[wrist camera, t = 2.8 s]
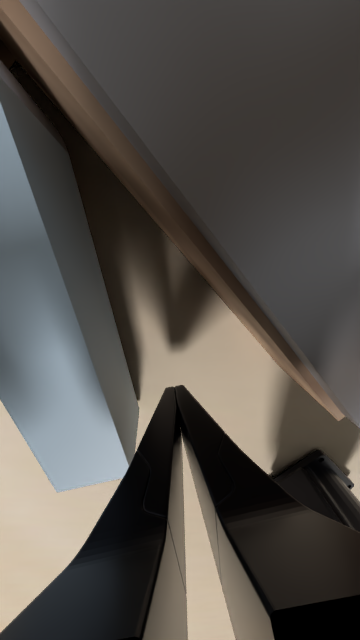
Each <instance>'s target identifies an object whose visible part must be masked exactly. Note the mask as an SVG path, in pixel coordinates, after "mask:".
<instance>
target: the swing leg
mask: <svg viewBox="0 0 360 640" xmlns="http://www.w3.org/2000/svg"><path fill="white" fill-rule="evenodd" d="M0 400H1V401H2V403H3V405H4V406H5V408H6V409H7V411H8V413H9V414H10V416H11V418H12V419H13V421H14V423H15V424H16V426H17V428H18V429H19V431H20V433H21V434H22V436H23V437H24V439H25V441H26V442H27V444H28V446H29V447H30V449H31V451H32V452H33V454H34V456H35V457H36V459H37V460H38V462H39V464H40V465H41V467H42V469H43V470H44V472H45V474H46V475H47V477H48V479H49V480H50V482H51V484H52V485H53V487H54V488H55V490H56V492H62V491H66V490H71V489H75V488H80V487H84V486H89V485H93V484H98V483H102V482H107V481H111V480H116V479H121V478H123V477H124V475H125V473H126V471H127V469H128V467H129V465H130V463H131V461H132V459H133V457H134V455H135V446H136V436H137V426H138V417H139V406H138V402H137V399H136V395H135V392H134V388H133V384H132V381H131V377H130V374H129V370H128V366H127V363H126V359H125V356H124V352H123V348H122V345H121V341H120V338H119V334H118V330H117V327H116V323H115V319H114V316H113V312H112V309H111V305H110V301H109V298H108V294H107V291H106V287H105V283H104V280H103V276H102V273H101V269H100V265H99V262H98V258H97V254H96V251H95V247H94V244H93V240H92V236H91V233H90V229H89V226H88V222H87V218H86V215H85V211H84V208H83V204H82V200H81V197H80V193H79V190H78V186H77V182H76V179H75V175H74V171H73V168H72V164H71V161H70V157H69V153H68V150H67V147H66V145H65V143H64V141H63V139H62V137H61V135H60V134H59V132H58V131H57V129H56V128H55V127H54V125H53V124H52V123H51V122H50V120H49V119H48V118H47V117H46V115H45V114H44V113H43V112H42V111H41V109H40V108H39V107H38V106H37V104H36V103H35V102H34V101H33V99H32V98H31V97H30V96H29V95H28V93H27V92H26V91H25V90H24V88H23V87H22V86H21V85H20V83H19V82H18V81H17V80H16V78H15V77H14V76H13V75H12V74H11V72H10V71H9V70H8V69H7V67H6V66H5V65H4V64H3V62H2V61H1V60H0Z"/></svg>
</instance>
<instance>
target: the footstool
mask: <svg viewBox="0 0 360 640" xmlns="http://www.w3.org/2000/svg"><path fill="white" fill-rule="evenodd" d="M0 60H1V61H2V62H3V64H4V65H5V66H6V67H7V69H8V70H9V69H10V67H11V66H12V64H13V63H14V61H15V60H17V62H18V63H19V64H20V65H21V66H22V67H23V69H24V70H25V71H26V72H27V73H28V74H29V76H30V77H31V78H32V79H33V80H34V81H35V83H36V84H37V85H38V86H39V87H40V88H41V90H42V91H43V92H44V93H45V94H46V95H47V96H48V98H49V99H50V100H51V101H52V102H53V103H54V105H55V106H56V107H57V108H58V109H59V110H60V112H61V113H62V114H63V115H64V116H65V117H66V119H67V120H68V121H69V122H70V123H71V124H72V126H73V127H74V128H75V129H76V130H77V131H78V133H79V134H80V135H81V136H82V137H83V138H84V140H85V141H86V142H87V143H88V144H89V145H90V146H91V148H92V149H93V150H94V151H95V152H96V153H97V155H98V156H99V157H100V158H101V159H102V160H103V162H104V163H105V164H106V165H107V166H108V167H109V169H110V170H111V171H112V172H113V173H114V174H115V176H116V177H117V178H118V179H119V180H120V181H121V183H122V184H123V185H124V186H125V187H126V188H127V190H128V191H129V192H130V193H131V194H132V195H133V196H134V198H135V199H136V200H137V201H138V202H139V203H140V205H141V206H142V207H143V208H144V209H145V210H146V212H147V213H148V214H149V215H150V216H151V217H152V219H153V220H154V221H155V222H156V223H157V224H158V226H159V227H160V228H161V229H162V230H163V231H164V233H165V234H166V235H167V236H168V237H169V238H170V240H171V241H172V242H173V243H174V244H175V245H176V247H177V248H178V249H179V250H180V251H181V252H182V253H183V255H184V256H185V257H186V258H187V259H188V260H189V262H190V263H191V264H192V265H193V266H194V267H195V269H196V270H197V271H198V272H199V273H200V274H201V276H202V277H203V278H204V279H205V280H206V281H207V283H208V284H209V285H210V286H211V287H212V288H213V290H214V291H215V292H216V293H217V294H218V295H219V297H220V298H221V299H222V300H223V301H224V302H225V303H226V305H227V306H228V307H229V308H230V309H231V310H232V312H233V313H234V314H235V315H236V316H237V317H238V319H239V320H240V321H241V322H242V323H243V324H244V326H245V327H246V328H247V329H248V330H249V331H250V333H251V334H252V335H253V336H254V337H255V338H256V340H257V341H258V342H259V343H260V344H261V345H262V347H263V348H264V349H265V350H266V351H267V352H268V354H269V355H270V356H271V357H272V358H273V359H274V360H275V362H276V363H277V364H278V365H279V366H280V367H281V368H282V369H283V370H284V371H285V372H286V373H287V374H288V375H289V376H291V377H292V378H293V379H294V380H295V381H296V382H297V383H298V384H299V385H300V386H301V387H302V388H303V389H305V390H306V391H307V392H308V393H309V394H310V395H311V396H312V397H313V398H314V399H315V400H316V401H317V402H319V403H320V404H321V405H322V406H323V407H324V408H325V409H326V410H327V411H328V412H329V413H330V414H331V415H333V416H334V417H335V418H336V419H337V420H338V421H340V420H341V419H343V418H344V417H347V418H348V419H349V420H350V421H352V422H353V423H354V424H355V425H356V426H357V427H358V428H360V0H0Z"/></svg>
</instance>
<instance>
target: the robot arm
mask: <svg viewBox="0 0 360 640" xmlns="http://www.w3.org/2000/svg"><path fill="white" fill-rule="evenodd" d="M180 427H181V428H180ZM181 433H182V435H181ZM182 438H183V443H184V446H185V450H186V454H187V458H188V461H189V465H190V469H191V473H192V476H193V480H194V484H195V488H196V492H197V495H198V499H199V503H200V507H201V510H202V514H203V518H204V522H205V525H206V529H207V533H208V537H209V540H210V544H211V548H212V552H213V556H214V559H215V563H216V567H217V571H218V574H219V578H220V582H221V585H222V590H223V593H224V597H225V601H226V605H227V608H228V612H229V616H230V620H231V623H232V627H233V631H234V635H235V638H236V640H360V502H359V500H358V499H357V498H356V497H355V495H354V494H353V493H352V492H351V490H350V489H352V488H353V487H354V484H353V482H352V481H351V480H350V479H349V478H348V477H347V476H346V475H345V474H344V473H343V472H342V471H341V470H340V469H339V468H338V467H337V466H336V465H335V464H334V463H333V462H332V460H331V459H330V458H329V457H328V456H327V455H326V454H325V453H324V452H323V451H321V450H318V451H315V452H313V453H312V454H310V455H309V456H308V457H306V458H305V459H303V460H302V461H300V462H299V463H297V464H296V465H294V466H293V467H291V468H290V469H288V470H287V471H285V472H284V473H282V474H281V475H279V476H278V477H276V478H275V479H272V478H271V477H270V476H269V475H268V474H266V473H265V472H264V471H263V470H262V469H261V468H260V467H259V466H258V465H257V464H255V463H254V462H253V461H252V460H251V459H250V458H249V457H248V456H247V455H246V454H245V453H244V452H243V451H242V450H241V449H240V448H239V447H238V446H237V445H236V444H235V443H234V442H233V441H232V440H231V438H230V437H229V436H228V435H227V434H226V433H225V432H224V431H223V430H222V428H221V427H220V426H219V425H218V424H217V423H216V422H215V420H214V419H213V418H212V417H211V416H210V415H209V414H208V413H207V411H206V410H205V409H204V408H203V407H202V406H201V405H200V404H199V402H198V401H197V400H196V399H195V398H194V397H193V396H192V394H191V393H190V392H189V391H188V390H187V389H186V388H185V387H184V386H183V385H179V386H175V388H174V387H168V388H166V389H165V391H164V393H163V395H162V397H161V399H160V401H159V404H158V406H157V408H156V410H155V412H154V414H153V416H152V419H151V421H150V423H149V425H148V427H147V429H146V432H145V434H144V436H143V438H142V440H141V442H140V444H139V447H138V449H137V451H136V453H135V455H134V457H133V459H132V461H131V463H130V465H129V467H128V469H127V471H126V473H125V475H124V477H123V479H122V481H121V482H120V484H119V486H118V488H117V490H116V491H115V493H114V495H113V496H112V498H111V500H110V501H109V503H108V505H107V507H106V508H105V510H104V512H103V513H102V515H101V517H100V518H99V520H98V522H97V523H96V525H95V527H94V529H93V530H92V532H91V534H90V535H89V537H88V539H87V540H86V542H85V543H84V545H83V546H82V548H81V549H80V551H79V552H78V554H77V555H76V556H75V558H74V559H73V560H72V561H71V563H70V564H69V565H68V566H67V567H66V568H65V569H64V570H63V571H62V573H61V574H59V575H58V576H57V577H56V578H55V579H54V580H53V581H52V582H51V583H50V584H49V585H48V586H47V587H46V588H45V589H44V590H43V591H42V592H41V593H40V594H39V595H38V596H37V597H36V598H35V599H34V600H33V601H32V602H31V603H30V604H29V605H28V606H27V607H26V608H25V609H24V610H23V611H22V612H21V613H20V614H19V615H18V616H17V617H16V618H15V619H14V620H13V621H12V622H11V623H10V624H9V625H8V626H7V627H6V628H5V629H4V630H3V631H2V632H1V633H0V640H188V632H187V598H186V564H185V529H184V495H183V460H182Z"/></svg>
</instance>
